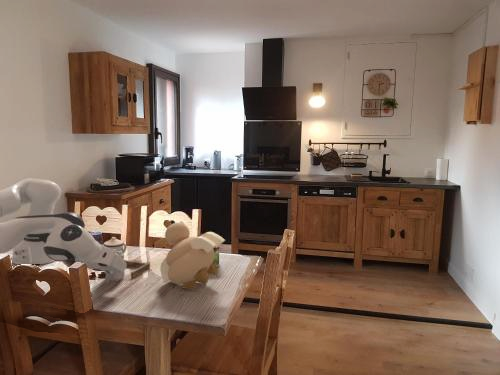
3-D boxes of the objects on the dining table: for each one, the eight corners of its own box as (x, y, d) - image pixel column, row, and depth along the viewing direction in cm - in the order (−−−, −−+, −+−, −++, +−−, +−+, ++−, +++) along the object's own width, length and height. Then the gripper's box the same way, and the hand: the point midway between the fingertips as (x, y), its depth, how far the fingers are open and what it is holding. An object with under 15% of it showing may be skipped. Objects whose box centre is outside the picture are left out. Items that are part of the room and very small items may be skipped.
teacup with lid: (113, 265, 175) (112, 241, 173) (99, 262, 179) (99, 238, 177) (132, 258, 185) (132, 235, 183) (119, 255, 189) (119, 232, 188)
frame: (104, 274, 163) (104, 268, 162) (122, 265, 175) (122, 259, 175) (133, 278, 159) (133, 272, 159) (149, 268, 171) (149, 263, 171)
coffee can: (223, 265, 177) (223, 236, 175) (204, 269, 171) (204, 239, 169) (212, 259, 185) (212, 231, 184) (193, 263, 179) (193, 234, 178)
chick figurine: (204, 200, 158) (172, 210, 137) (244, 255, 153) (218, 273, 133) (160, 240, 169) (125, 254, 148) (196, 292, 165) (165, 314, 144)
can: (119, 282, 154) (118, 254, 153) (102, 281, 155) (101, 253, 154) (127, 276, 161) (126, 248, 160) (111, 275, 162) (110, 248, 161)
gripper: (66, 259, 144) (85, 275, 154) (111, 265, 138) (128, 282, 149) (74, 245, 148) (92, 262, 158) (119, 250, 142) (134, 267, 152)
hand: (109, 271), depth 153 cm, fingers closed
